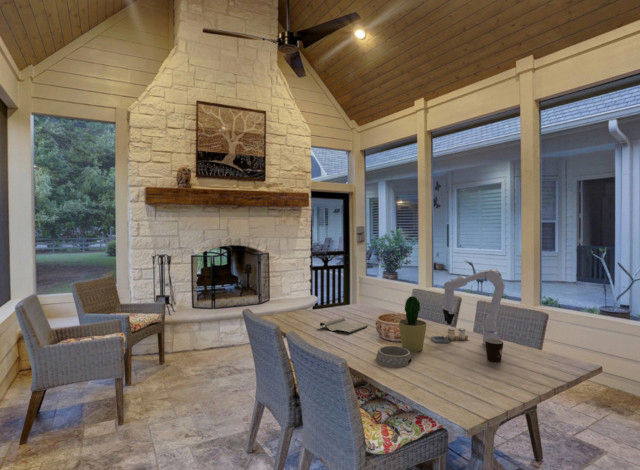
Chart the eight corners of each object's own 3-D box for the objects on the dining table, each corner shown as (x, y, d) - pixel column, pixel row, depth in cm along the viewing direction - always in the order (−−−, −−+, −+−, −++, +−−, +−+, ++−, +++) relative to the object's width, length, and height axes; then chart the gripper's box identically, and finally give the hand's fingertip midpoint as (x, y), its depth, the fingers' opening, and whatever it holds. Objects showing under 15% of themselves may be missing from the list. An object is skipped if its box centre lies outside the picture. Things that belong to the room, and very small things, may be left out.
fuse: (466, 340, 225) (466, 330, 225) (459, 340, 225) (460, 330, 225) (463, 338, 229) (463, 328, 229) (457, 338, 229) (457, 328, 229)
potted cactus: (415, 355, 202) (415, 299, 201) (392, 347, 214) (393, 295, 213) (432, 348, 212) (432, 295, 211) (409, 342, 223) (410, 292, 223)
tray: (448, 344, 220) (448, 340, 220) (435, 344, 220) (435, 340, 220) (443, 339, 228) (443, 336, 228) (430, 340, 228) (430, 336, 228)
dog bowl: (415, 358, 198) (415, 348, 197) (404, 370, 182) (404, 359, 182) (384, 352, 206) (384, 343, 206) (371, 363, 190) (371, 352, 190)
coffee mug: (492, 364, 189) (493, 344, 188) (481, 358, 197) (481, 339, 197) (512, 361, 192) (512, 342, 192) (499, 356, 200) (500, 337, 200)
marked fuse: (455, 340, 225) (456, 330, 225) (449, 340, 225) (449, 330, 225) (453, 338, 229) (453, 328, 229) (446, 338, 229) (446, 328, 229)
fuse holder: (470, 342, 224) (470, 336, 224) (447, 342, 223) (447, 337, 223) (465, 338, 231) (465, 333, 231) (443, 338, 230) (443, 333, 230)
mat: (348, 336, 238) (348, 328, 237) (319, 329, 252) (319, 322, 252) (368, 328, 256) (368, 321, 256) (339, 322, 270) (339, 316, 270)
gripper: (440, 297, 237) (439, 319, 237) (444, 302, 222) (443, 325, 223) (451, 298, 236) (450, 320, 236) (456, 303, 221) (455, 326, 222)
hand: (447, 322), depth 229 cm, fingers open, 7 cm apart
